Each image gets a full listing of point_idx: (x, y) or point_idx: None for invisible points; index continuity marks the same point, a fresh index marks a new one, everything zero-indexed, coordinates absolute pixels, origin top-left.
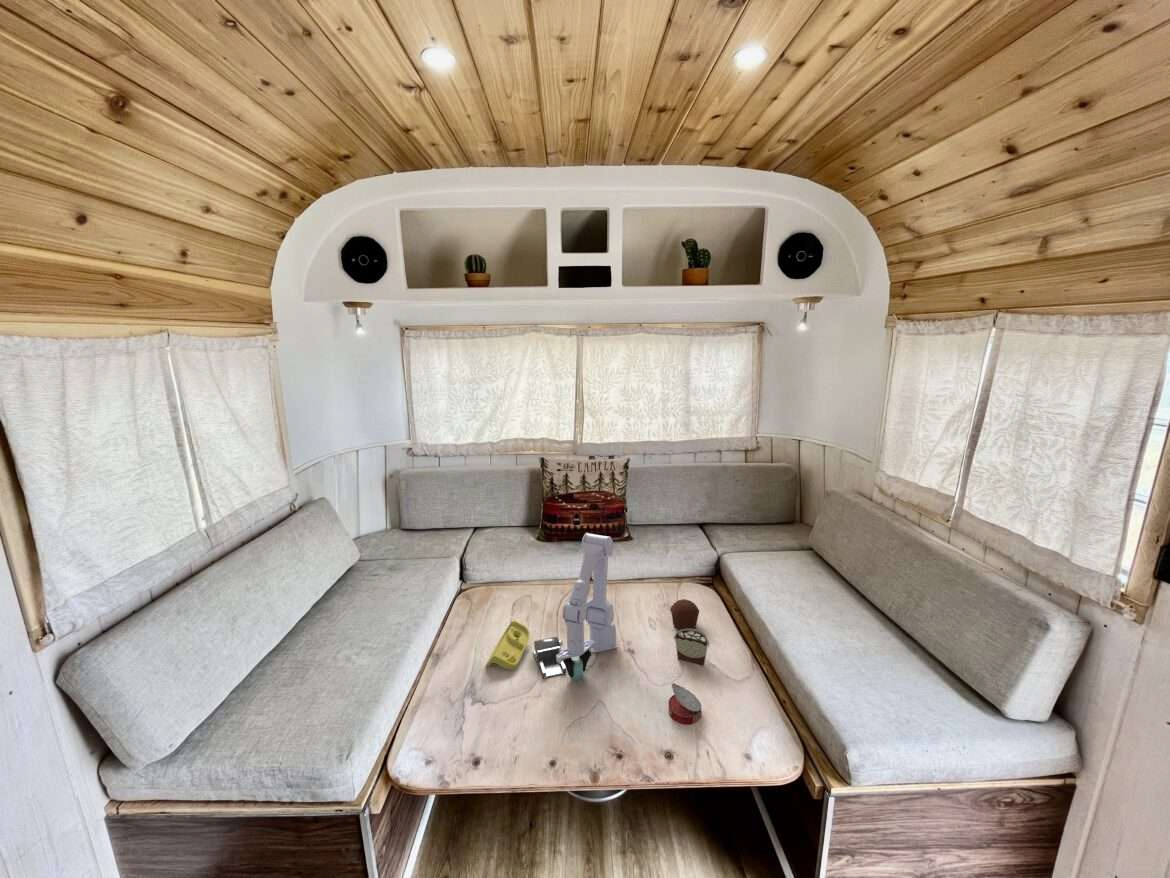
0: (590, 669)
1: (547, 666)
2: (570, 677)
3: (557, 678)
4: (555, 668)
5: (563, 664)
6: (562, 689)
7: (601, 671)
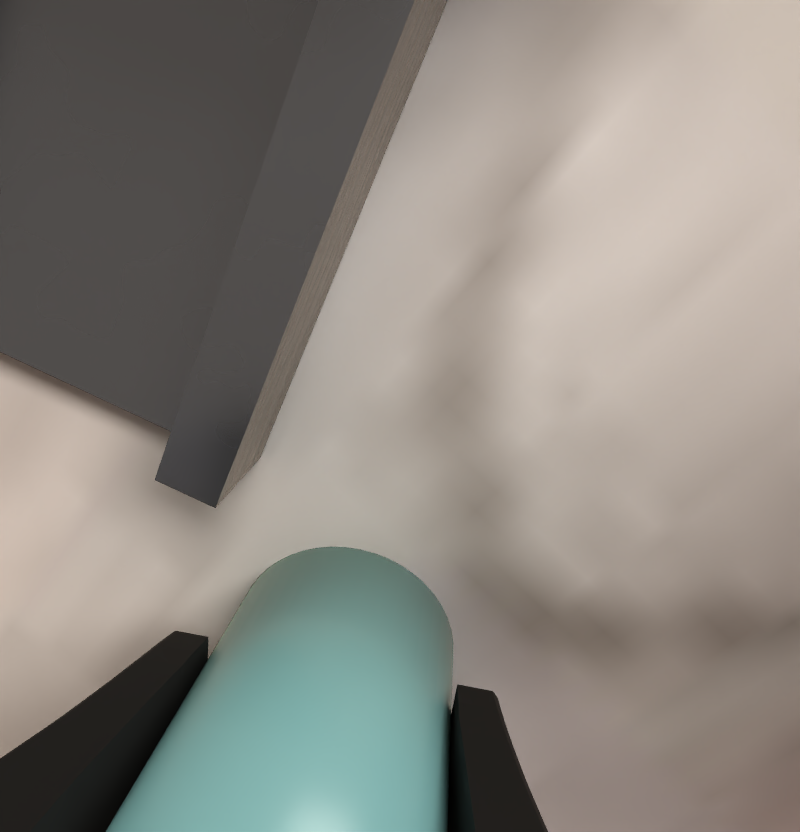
0: (646, 680)
1: (16, 32)
2: (248, 593)
3: (69, 446)
4: (136, 232)
5: (243, 375)
6: (23, 663)
7: (726, 819)
